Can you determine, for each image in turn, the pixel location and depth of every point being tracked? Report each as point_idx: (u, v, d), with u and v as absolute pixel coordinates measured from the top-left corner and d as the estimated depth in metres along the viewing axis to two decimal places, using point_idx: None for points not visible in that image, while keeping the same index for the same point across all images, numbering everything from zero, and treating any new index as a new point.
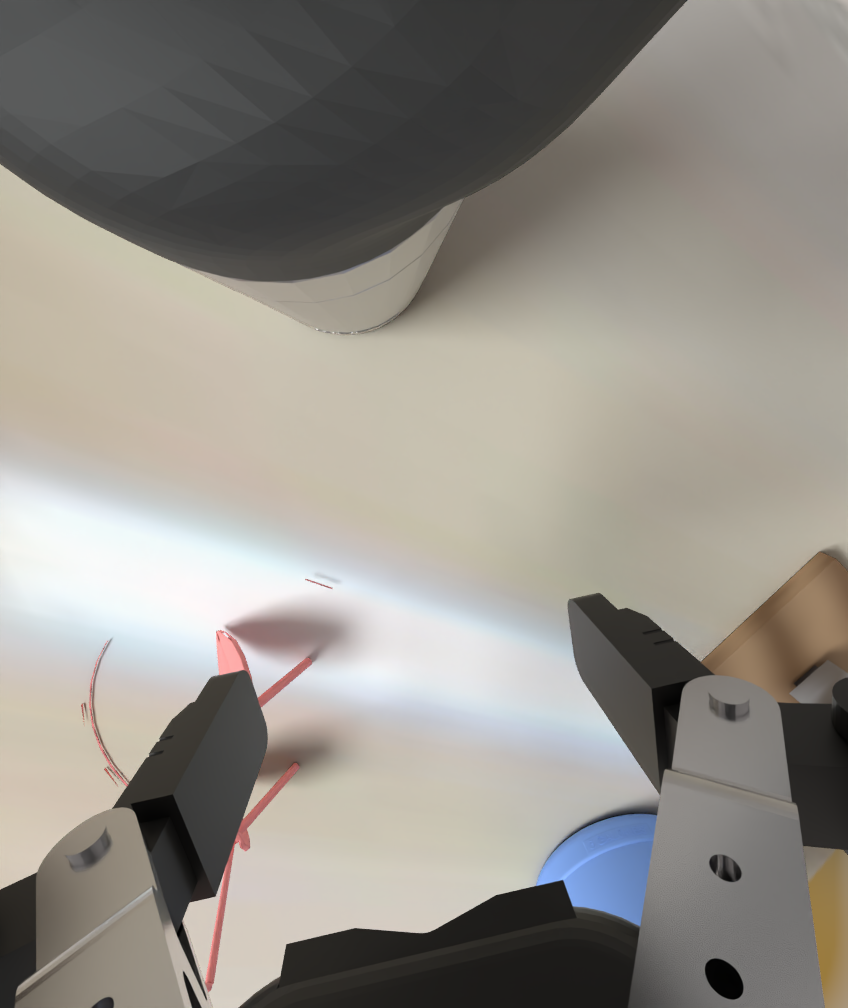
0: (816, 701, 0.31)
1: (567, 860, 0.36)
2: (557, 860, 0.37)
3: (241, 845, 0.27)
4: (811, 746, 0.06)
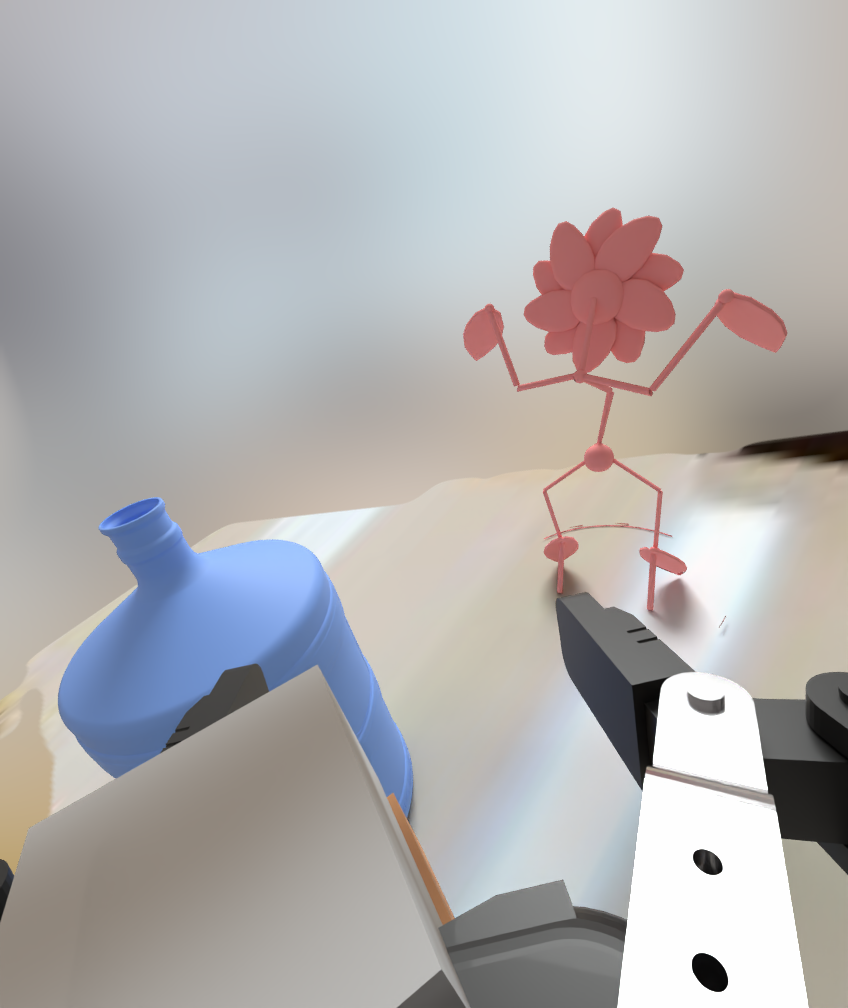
0: None
1: None
2: None
3: (561, 537, 0.49)
4: (784, 741, 0.06)
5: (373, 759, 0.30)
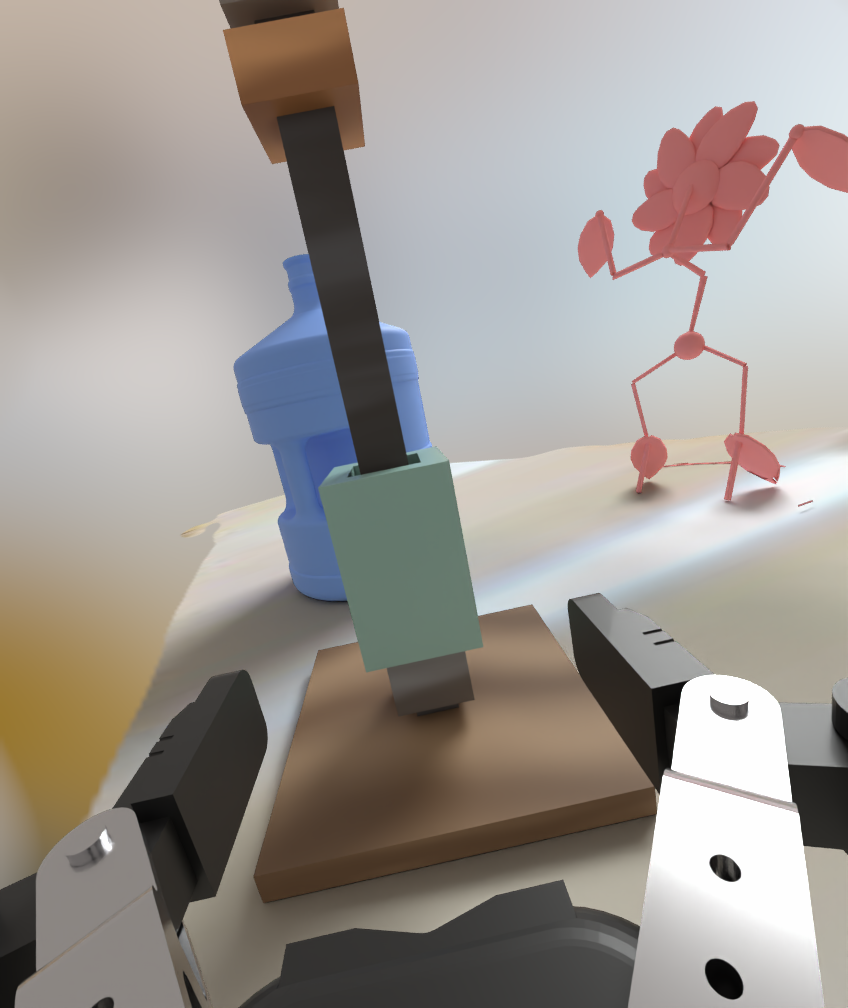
0: None
1: None
2: None
3: (646, 436, 0.50)
4: (811, 746, 0.06)
5: None
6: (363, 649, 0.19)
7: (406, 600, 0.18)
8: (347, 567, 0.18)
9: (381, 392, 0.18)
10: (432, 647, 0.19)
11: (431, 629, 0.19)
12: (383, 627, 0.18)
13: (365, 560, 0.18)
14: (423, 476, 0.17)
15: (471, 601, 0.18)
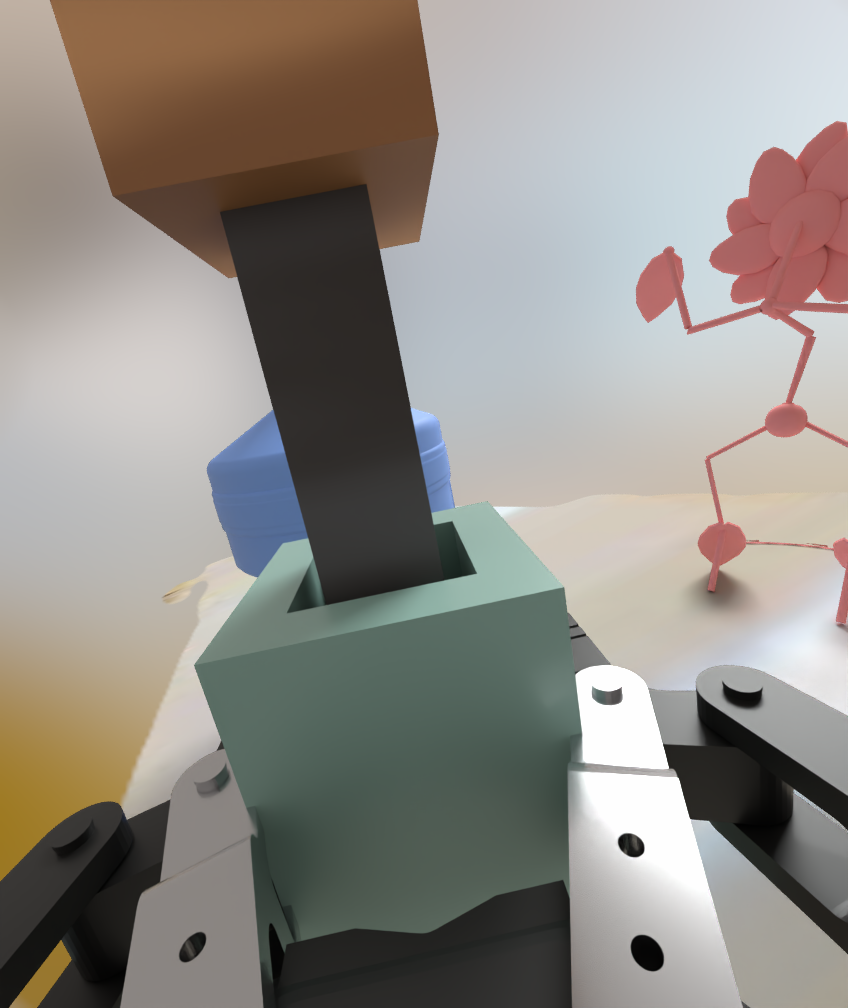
0: None
1: None
2: None
3: (722, 522, 0.41)
4: (674, 728, 0.07)
5: None
6: None
7: (437, 915, 0.07)
8: (284, 852, 0.07)
9: None
10: None
11: None
12: None
13: (332, 834, 0.07)
14: (491, 629, 0.06)
15: None
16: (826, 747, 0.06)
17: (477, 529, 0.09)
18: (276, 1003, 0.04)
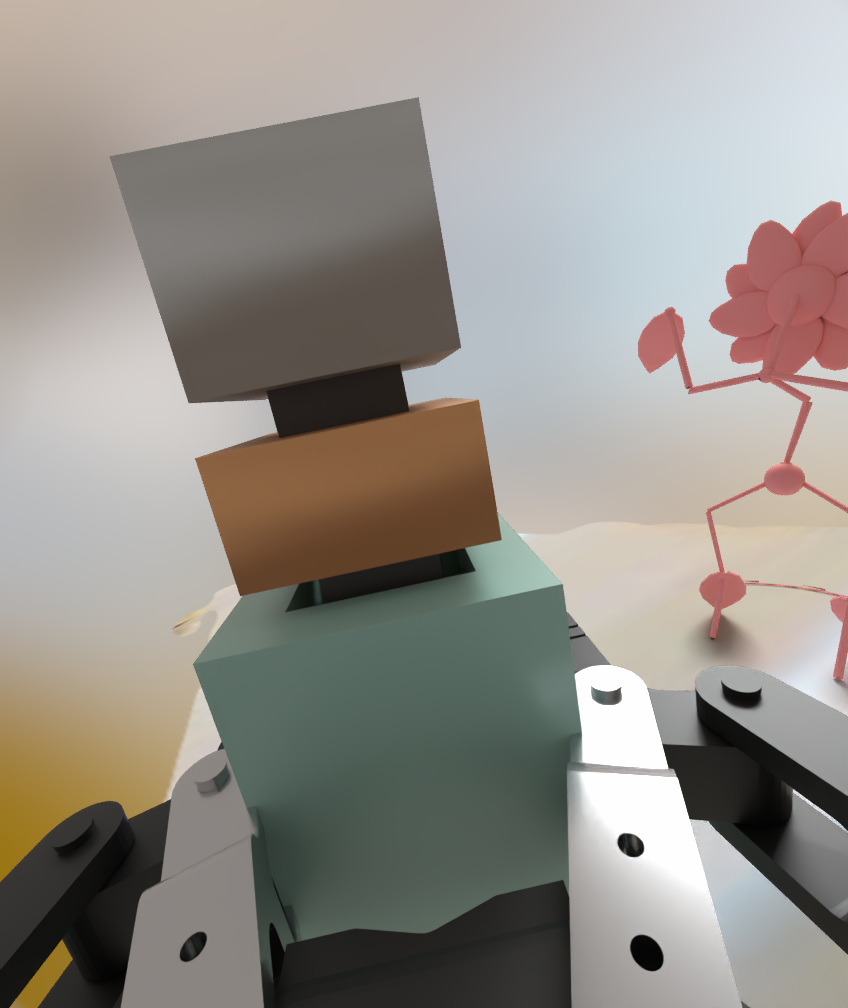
0: None
1: None
2: None
3: (722, 572, 0.42)
4: (673, 728, 0.07)
5: None
6: None
7: (438, 913, 0.07)
8: (285, 851, 0.07)
9: None
10: None
11: None
12: None
13: (332, 832, 0.07)
14: (490, 626, 0.06)
15: None
16: (825, 747, 0.06)
17: None
18: (277, 1003, 0.04)
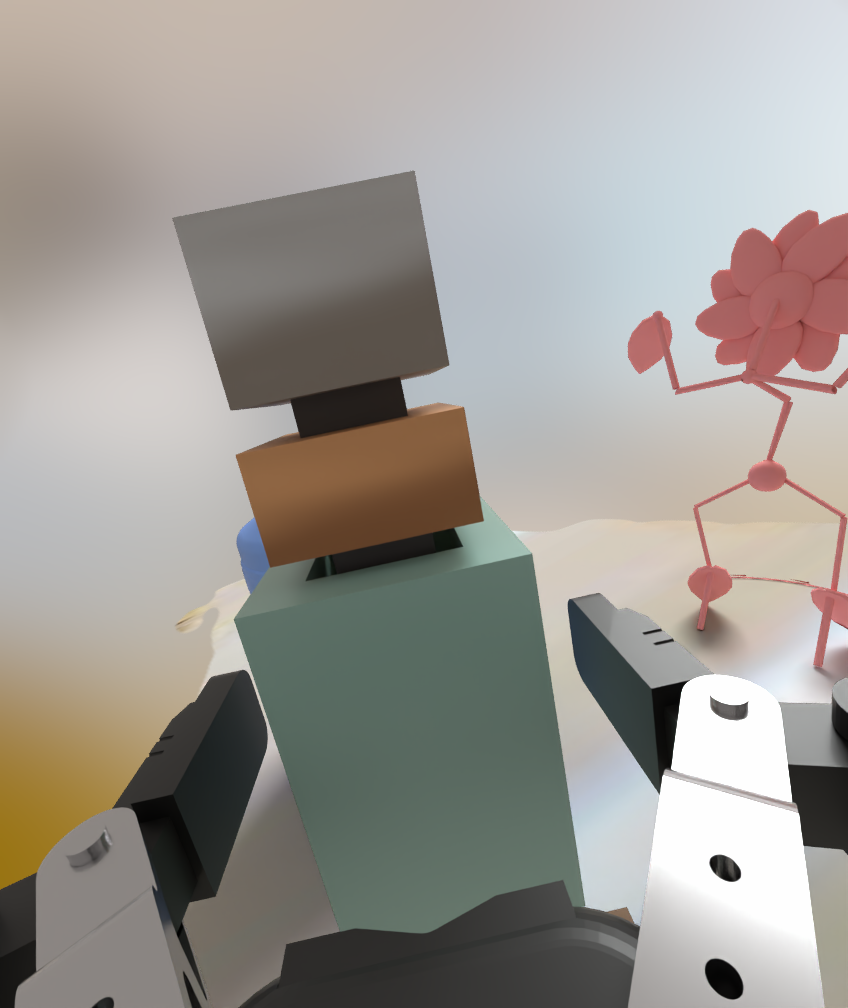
0: None
1: None
2: None
3: (709, 566, 0.44)
4: (811, 746, 0.06)
5: None
6: (344, 924, 0.09)
7: (433, 833, 0.09)
8: (306, 778, 0.08)
9: None
10: None
11: (483, 881, 0.09)
12: (385, 883, 0.09)
13: (345, 762, 0.08)
14: (474, 588, 0.08)
15: (566, 828, 0.09)
16: None
17: None
18: None
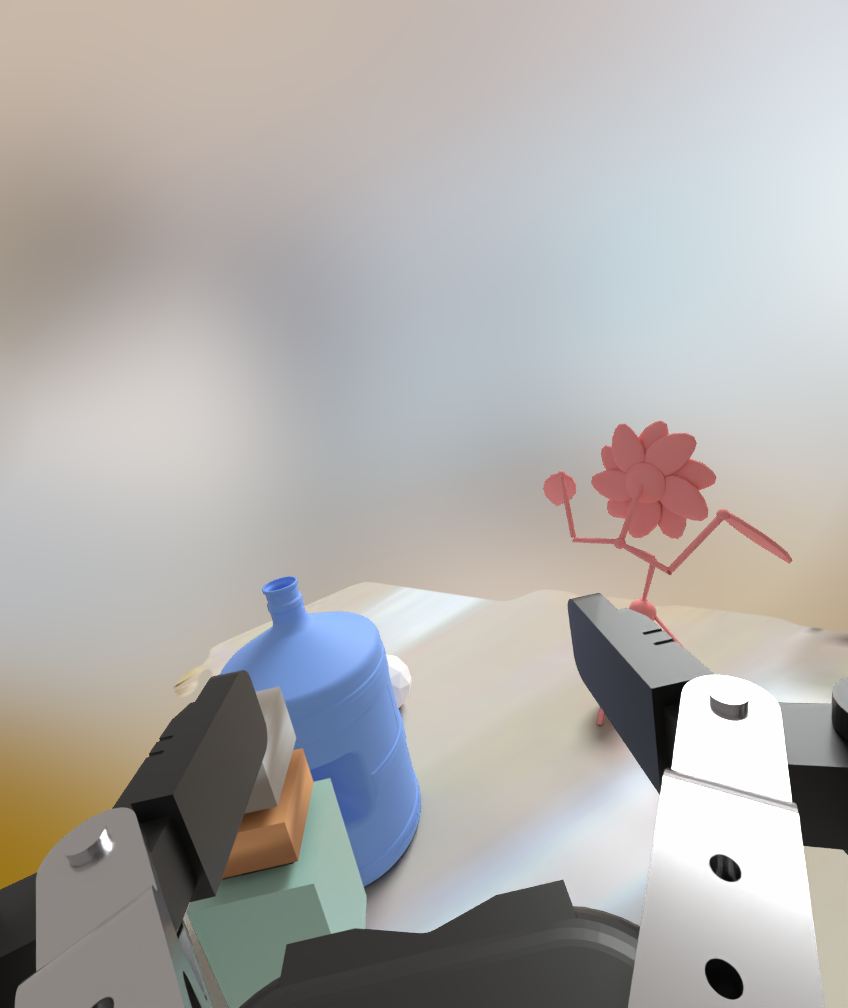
0: None
1: (419, 793, 0.48)
2: (419, 790, 0.49)
3: None
4: (811, 746, 0.06)
5: (380, 793, 0.41)
6: None
7: None
8: (221, 971, 0.18)
9: None
10: None
11: None
12: None
13: (238, 964, 0.18)
14: (289, 896, 0.18)
15: None
16: None
17: (311, 815, 0.21)
18: None
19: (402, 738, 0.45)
